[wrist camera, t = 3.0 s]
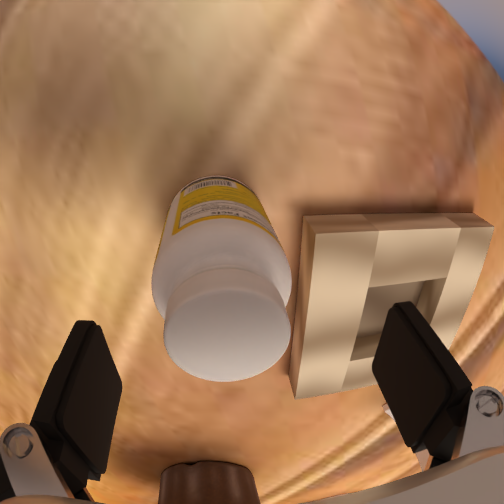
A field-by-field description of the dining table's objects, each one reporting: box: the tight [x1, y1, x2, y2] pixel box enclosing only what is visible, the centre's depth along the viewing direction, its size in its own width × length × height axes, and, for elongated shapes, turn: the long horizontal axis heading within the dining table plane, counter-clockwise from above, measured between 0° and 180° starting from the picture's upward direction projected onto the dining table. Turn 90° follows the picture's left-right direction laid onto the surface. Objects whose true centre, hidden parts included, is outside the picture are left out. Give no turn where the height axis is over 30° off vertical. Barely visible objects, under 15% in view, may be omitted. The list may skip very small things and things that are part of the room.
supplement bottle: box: [152, 175, 292, 382], centre depth 14 cm, size 5×5×10 cm
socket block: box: [289, 213, 494, 400], centre depth 22 cm, size 14×14×2 cm
